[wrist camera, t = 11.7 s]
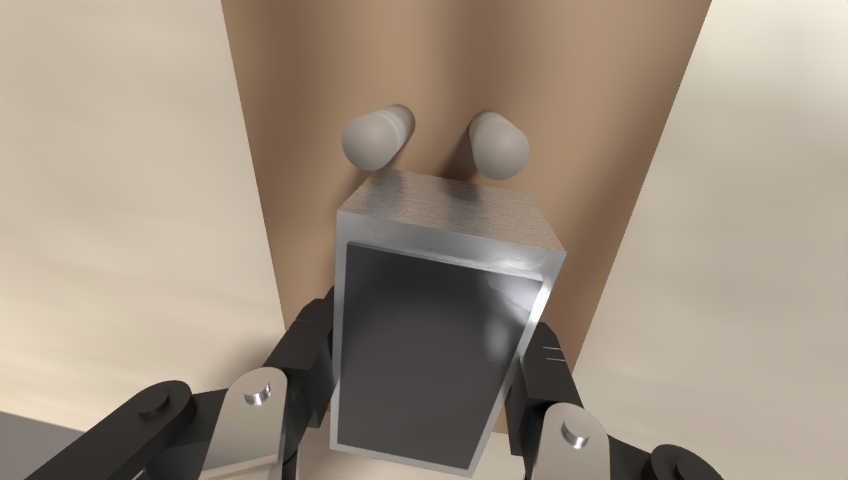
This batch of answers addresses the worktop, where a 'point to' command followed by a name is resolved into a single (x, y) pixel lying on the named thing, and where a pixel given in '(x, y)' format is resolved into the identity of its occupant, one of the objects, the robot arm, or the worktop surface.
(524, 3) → the pin tray
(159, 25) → the worktop surface
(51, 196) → the worktop surface
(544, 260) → the block
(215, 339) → the worktop surface
